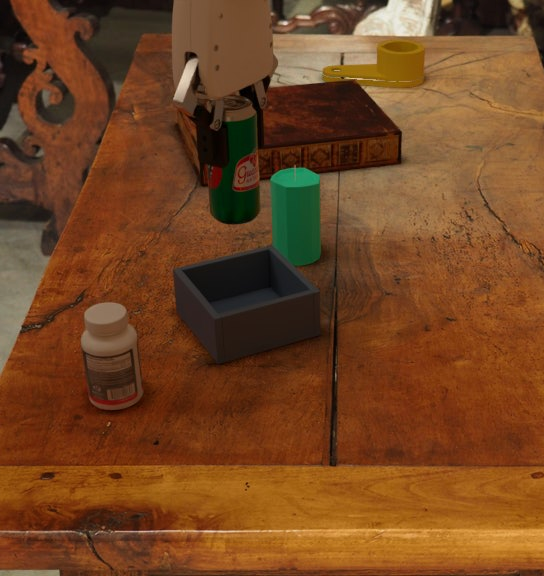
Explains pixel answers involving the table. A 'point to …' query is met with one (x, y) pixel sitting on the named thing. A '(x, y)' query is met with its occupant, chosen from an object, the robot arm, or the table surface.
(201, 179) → the book
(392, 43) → the crank
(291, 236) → the candle
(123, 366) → the pill bottle
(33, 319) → the table surface
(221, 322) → the bin
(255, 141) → the soda can
